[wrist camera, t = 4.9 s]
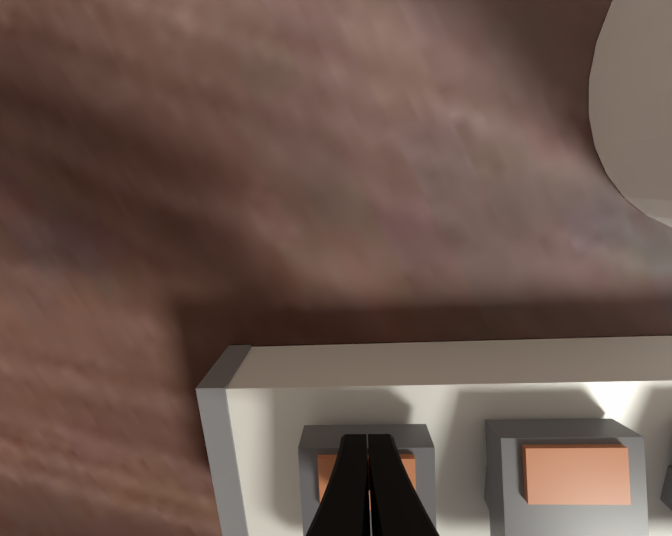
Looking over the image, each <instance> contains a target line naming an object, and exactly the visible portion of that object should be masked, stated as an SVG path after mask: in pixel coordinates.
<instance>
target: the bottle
mask: <svg viewBox="0 0 672 536" xmlns="http://www.w3.org/2000/svg"><path fill="white" fill-rule="evenodd" d="M589 120H590V125H591V130H592V135H593V141H594V146H595V149H596V151H597V153H598V156H599V158H600V160H601V162H602V165H603V167H604V169H605V172H606V174H607V175H608V177H609V178H610V179H611V181H612V182H613V183H614V185H615V186H616V187H617V189H618V190H619V191H620V193H621V194H622V195H623V197H624V198H625V199H627V200H628V201H629V202H630V203H631V204H633V205H634V206H635V207H636V208H638V209H639V210H640V211H641V212H642V213H644V214H645V215H646V216H648V217H651V218H653V219H655V220H657V221H659V222H661V223H663V224H665V225H667V226H669V227H671V228H672V0H613V1H612V3H611V5H610V8H609V10H608V13H607V15H606V18H605V21H604V23H603V26H602V29H601V31H600V34H599V37H598V39H597V42H596V47H595V52H594V57H593V62H592V67H591V72H590V77H589Z"/></svg>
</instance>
